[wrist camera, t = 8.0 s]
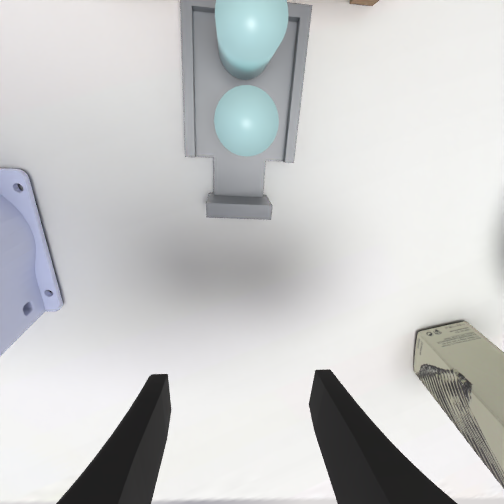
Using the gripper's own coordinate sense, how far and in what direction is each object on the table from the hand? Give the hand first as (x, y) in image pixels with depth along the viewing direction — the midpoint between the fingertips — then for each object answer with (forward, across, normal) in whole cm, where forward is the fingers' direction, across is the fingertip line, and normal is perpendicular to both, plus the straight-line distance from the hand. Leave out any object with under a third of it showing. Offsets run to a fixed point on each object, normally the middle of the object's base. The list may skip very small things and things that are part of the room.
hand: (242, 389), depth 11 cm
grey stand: (+9, 0, -10) cm, 14 cm away
